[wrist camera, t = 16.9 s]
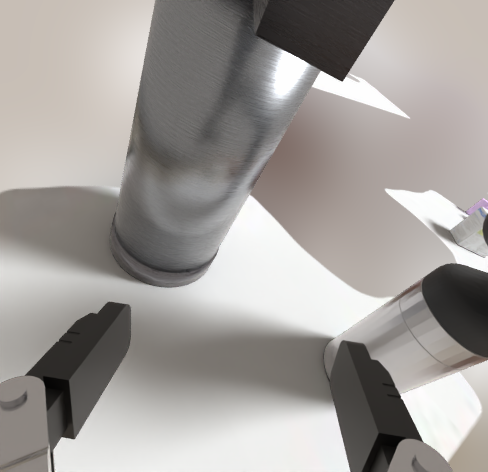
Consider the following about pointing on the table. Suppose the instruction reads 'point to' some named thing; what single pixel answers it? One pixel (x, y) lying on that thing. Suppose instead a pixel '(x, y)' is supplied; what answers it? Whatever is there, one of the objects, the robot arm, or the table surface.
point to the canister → (200, 135)
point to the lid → (320, 29)
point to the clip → (478, 206)
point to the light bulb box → (472, 232)
